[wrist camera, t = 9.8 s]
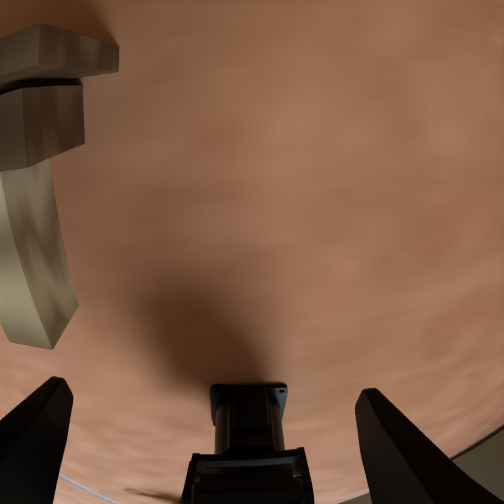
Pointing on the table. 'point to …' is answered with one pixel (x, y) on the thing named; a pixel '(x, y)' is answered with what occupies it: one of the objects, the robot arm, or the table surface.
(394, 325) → the table surface
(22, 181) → the rail
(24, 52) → the headboard
